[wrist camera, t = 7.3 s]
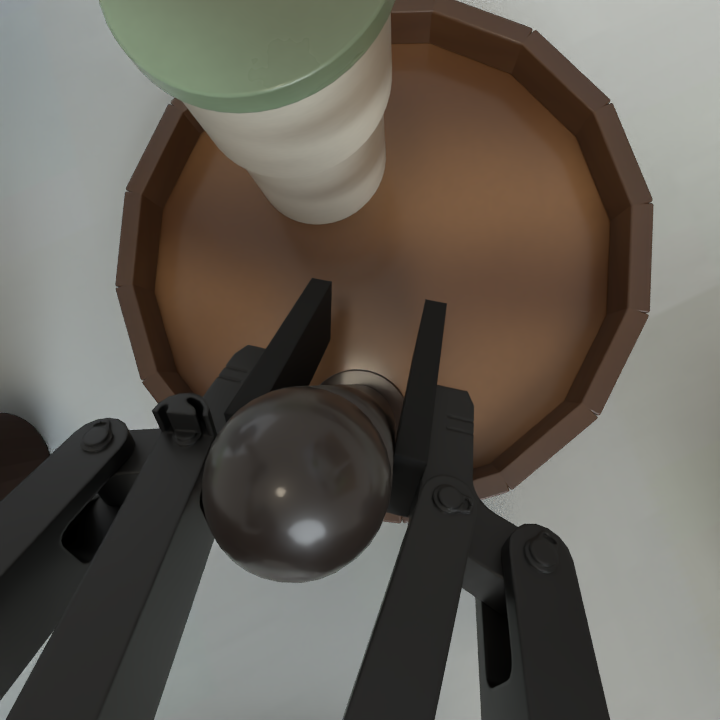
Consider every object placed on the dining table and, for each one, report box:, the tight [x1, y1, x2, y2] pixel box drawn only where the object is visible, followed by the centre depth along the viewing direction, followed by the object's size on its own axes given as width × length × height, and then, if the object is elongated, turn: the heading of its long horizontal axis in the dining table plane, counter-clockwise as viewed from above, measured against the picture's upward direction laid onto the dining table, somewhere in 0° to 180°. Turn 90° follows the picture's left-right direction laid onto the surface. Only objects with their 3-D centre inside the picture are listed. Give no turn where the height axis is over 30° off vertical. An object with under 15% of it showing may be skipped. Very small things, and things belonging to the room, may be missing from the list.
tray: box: [99, 0, 653, 583], centre depth 12 cm, size 21×21×12 cm
